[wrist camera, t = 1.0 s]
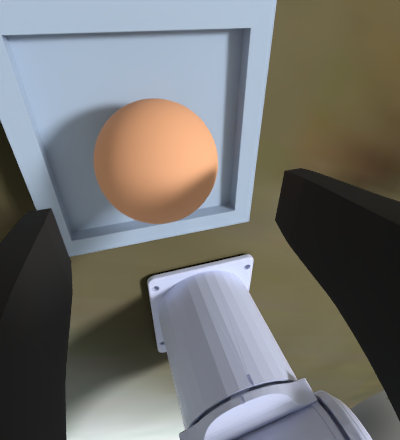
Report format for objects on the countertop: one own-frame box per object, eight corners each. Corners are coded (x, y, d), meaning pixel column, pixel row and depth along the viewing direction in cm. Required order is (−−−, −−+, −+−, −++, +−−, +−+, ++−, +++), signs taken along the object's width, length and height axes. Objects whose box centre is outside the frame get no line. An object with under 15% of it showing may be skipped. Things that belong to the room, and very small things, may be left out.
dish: (237, 205, 20) (248, 221, 18) (58, 237, 17) (56, 259, 16) (256, -4, 13) (277, -4, 12) (-32, -4, 10) (-49, -2, 9)
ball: (197, 179, 16) (232, 235, 13) (103, 193, 15) (110, 260, 11) (197, 80, 13) (243, 115, 10) (79, 88, 12) (78, 133, 8)
